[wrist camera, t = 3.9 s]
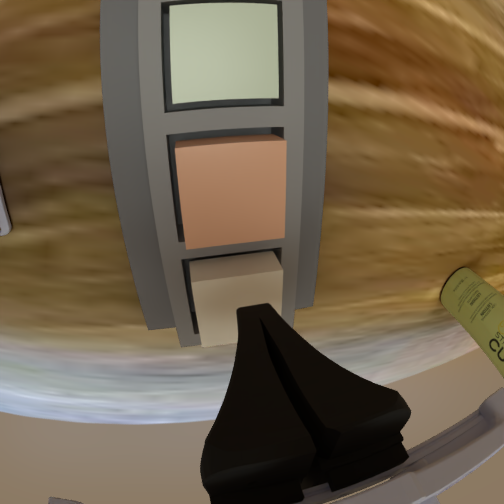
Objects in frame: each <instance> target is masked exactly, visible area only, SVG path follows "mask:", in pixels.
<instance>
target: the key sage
mask: <svg viewBox="0 0 504 504" xmlns="http://www.w3.org/2000/svg"><path fill="white" fill-rule="evenodd" d="M170 60H171V84H172V103H173V104H176V103H185V102H196V101H209V100H225V99H250V98H279V74H278V22H277V5H275V4H259V3H200V4H184V5H173V6H170Z"/></svg>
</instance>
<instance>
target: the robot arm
mask: <svg viewBox="0 0 504 504" xmlns="http://www.w3.org/2000/svg"><path fill="white" fill-rule="evenodd" d="M0 228H1V230H0V236H3V235H7V234H8V233H9V232H10V231H11V223H10V219H9V216H8V212H7V209H6V205H5V201H4V197H3V193H2V189H1V185H0ZM236 315H237V326H238V342H237V350H236V356H235V362H234V367H233V371H232V375H231V379H230V383H229V386H228V389H227V392H226V395H225V398H224V401H223V403H222V406H221V408H220V411H219V413H218V415H217V418H216V420H215V422H214V424H213V426H212V428H211V430H210V432H209V434H208V436H207V438H206V440H205V445H204V449H203V453H202V458H201V465H200V473H201V478H202V483H203V486H204V488H205V489H206V491H207V492H208V494H209V496H210V501H211V504H323V503H326V502H329V501H332V500H335V499H338V498H341V497H344V496H346V495H349V494H352V493H354V492H357V491H360V490H362V489H364V488H367V487H370V486H372V485H374V484H377V483H379V482H381V481H383V480H386V479H388V478H390V477H391V478H390V480H388V481H386V482H384V483H382V484H379V485H377V486H375V487H372V488H370V489H368V490H365V491H362V492H360V493H357V494H355V495H352V496H350V497H347V498H344V499H342V500H339V501H335V502H333V503H330V504H440V503H439V501H438V499H437V497H436V496H437V495H439V494H440V493H442V492H443V491H444V490H447V489H448V488H450V487H451V486H453V485H454V484H456V483H457V482H459V481H460V480H461V479H463V478H464V477H466V476H467V475H468V474H470V473H471V472H473V471H474V470H475V469H476V468H478V467H479V466H480V465H482V464H483V463H484V462H485V461H487V460H488V459H489V458H490V457H492V456H493V455H494V454H495V453H496V452H498V451H499V450H500V449H501V448H502V447H504V388H500V389H499V390H497V391H496V392H495V393H493V394H492V395H490V396H489V397H488V398H487V399H486V400H485V401H484V402H483V403H482V404H481V405H480V407H479V409H478V410H476V411H475V412H473V413H472V414H470V415H469V416H467V417H466V418H464V419H463V420H461V421H459V422H458V423H456V424H455V425H453V426H451V427H449V428H448V429H446V430H444V431H443V432H441V433H439V434H437V435H436V436H434V437H432V438H430V439H428V440H427V441H425V442H423V443H421V444H419V445H417V446H415V447H413V448H411V449H409V450H407V451H406V450H405V448H404V446H403V445H402V441H403V436H402V435H401V433H400V431H401V429H402V428H403V427H404V425H405V424H406V423H407V421H408V419H409V418H410V415H411V410H410V408H409V407H408V405H407V403H406V402H405V400H404V399H403V398H402V397H401V395H400V394H399V393H398V392H397V391H395V390H392V389H389V388H387V387H384V386H381V385H378V384H375V383H373V382H371V381H368V380H366V379H364V378H362V377H359V376H358V375H356V374H354V373H352V372H350V371H348V370H346V369H345V368H343V367H341V366H339V365H338V364H336V363H335V362H333V361H332V360H330V359H329V358H327V357H326V356H324V355H323V354H322V353H320V352H319V351H318V350H316V349H315V348H314V347H313V346H311V345H310V344H309V343H308V342H307V341H306V340H304V339H303V338H302V337H301V336H300V335H299V334H298V333H297V332H296V331H295V330H294V329H293V328H292V327H291V326H290V325H289V324H288V323H287V322H286V321H285V320H284V319H283V318H282V317H281V316H280V315H279V314H278V313H277V311H276V310H275V309H274V308H273V307H272V305H271V304H269V303H263V304H257V305H251V306H245V307H239V308H238V309H237V310H236ZM392 476H393V477H392ZM48 504H83V503H81V502H78V501H73V500H67V499H61V498H55V497H49V503H48Z"/></svg>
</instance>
